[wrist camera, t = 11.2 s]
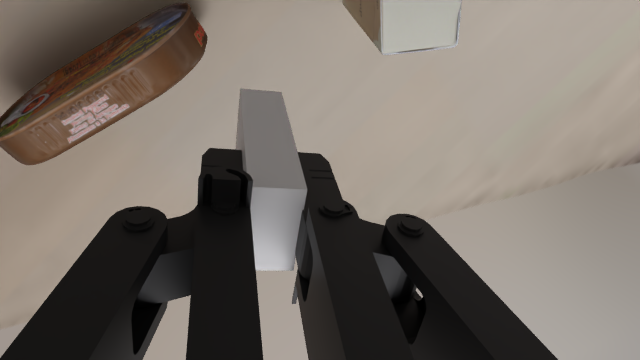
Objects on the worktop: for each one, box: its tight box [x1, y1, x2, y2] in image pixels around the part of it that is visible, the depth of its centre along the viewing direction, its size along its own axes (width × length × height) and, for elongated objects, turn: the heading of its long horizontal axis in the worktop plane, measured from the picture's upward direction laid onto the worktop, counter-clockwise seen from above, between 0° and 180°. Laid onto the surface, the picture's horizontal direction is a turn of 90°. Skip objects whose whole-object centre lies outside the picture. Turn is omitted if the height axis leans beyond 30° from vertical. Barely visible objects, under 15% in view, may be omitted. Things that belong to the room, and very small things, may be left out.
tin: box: [0, 3, 207, 165], centre depth 31 cm, size 15×3×8 cm, turn 117°
